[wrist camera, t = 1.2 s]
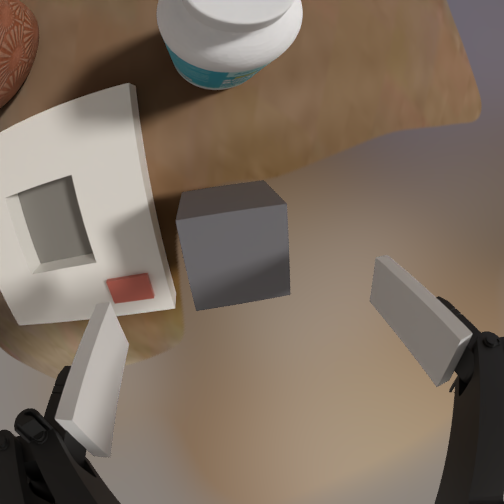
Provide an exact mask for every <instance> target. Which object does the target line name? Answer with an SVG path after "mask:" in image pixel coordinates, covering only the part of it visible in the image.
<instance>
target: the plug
mask: <svg viewBox="0 0 504 504" xmlns="http://www.w3.org/2000/svg"><path fill="white" fill-rule="evenodd" d="M176 225H177V230H178V235H179V239H180V244H181V249H182V253H183V258H184V262H185V267H186V271H187V275H188V279H189V284H190V288H191V292H192V295H193V299H194V304H195V307H196V311H199V310H205V309H211V308H218V307H224V306H230V305H236V304H242V303H247V302H253V301H258V300H264V299H270V298H275V297H280V296H286V295H290V269H289V268H290V267H289V239H288V219H287V204H286V202H285V201H284V200H283V199H282V198H281V197H280V196H279V195H278V194H277V193H276V192H275V191H274V190H273V189H272V188H271V187H270V186H269V185H268V184H267V183H266V182H265V181H264V180H262V181H254V182H247V183H239V184H232V185H225V186H218V187H212V188H205V189H199V190H193V191H187V192H182V194H181V199H180V203H179V207H178V212H177V216H176Z"/></svg>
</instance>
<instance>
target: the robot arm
mask: <svg viewBox="0 0 504 504" xmlns="http://www.w3.org/2000/svg"><path fill="white" fill-rule="evenodd" d="M370 302H371V303H372V305H373V306H374V307H375V308H376V310H377V311H378V312H379V313H380V314H381V315H382V317H383V318H384V319H385V321H386V322H387V323H388V324H389V325H390V327H391V328H392V329H393V330H394V332H395V333H396V334H397V335H398V337H399V338H400V339H401V340H402V342H403V343H404V344H405V346H406V347H407V348H408V349H409V351H410V352H411V353H412V355H413V356H414V357H415V359H416V360H417V361H418V362H419V364H420V365H421V366H422V368H423V369H424V370H425V372H426V373H427V374H428V376H429V377H430V378H431V380H432V381H433V382H434V384H435V385H436V387H438V386H440V385H441V384H443V383H445V382H447V381H449V380H450V378H451V376H452V374H453V372H454V371H455V372H456V373H457V375H458V376H457V378H456V379H455V381H454V383H453V384H452V386H451V388H450V391H449V392H452V390H453V389H454V387H455V392H454V393H455V397H454V408H453V417H452V426H451V432H450V439H449V445H448V451H447V456H446V461H445V466H444V470H443V475H442V479H441V483H440V487H439V491H438V494H437V497H436V501H435V504H504V501H503V494H504V337H500V338H499V337H498V336H497V335H495V334H494V333H491V332H482V333H481V332H480V331H478V329H477V328H476V327H475V326H474V325H473V324H472V323H471V322H469V321H468V320H467V319H466V318H465V317H464V316H463V315H462V314H460V312H459V311H458V310H457V309H455V307H454V306H453V305H452V304H451V303H449V302H448V301H447V300H445V299H443V298H441V297H435V296H434V295H433V294H432V293H431V292H429V291H428V290H427V289H426V288H425V287H424V286H423V285H422V284H421V283H420V282H418V281H417V280H416V279H415V278H414V277H413V276H412V275H410V274H409V273H408V272H407V271H406V270H405V269H404V268H402V267H401V266H400V265H399V264H398V263H397V262H395V261H394V260H393V259H392V258H391V257H390V256H388V255H385V256H380V257H376V259H375V267H374V275H373V282H372V289H371V296H370ZM128 347H129V343H128V341H127V339H126V337H125V335H124V333H123V331H122V328H121V326H120V324H119V322H118V319H117V317H116V315H115V312H114V310H113V307H112V305H111V303H110V302H107V303H99V304H96V306H95V309H94V311H93V313H92V316H91V318H90V320H89V323H88V325H87V327H86V330H85V332H84V335H83V337H82V340H81V342H80V345H79V347H78V350H77V352H76V355H75V358H74V360H73V363H72V366H65V367H64V368H63V369H62V371H61V372H60V373H59V374H58V377H57V379H56V382H55V386H54V388H53V391H52V394H51V397H50V400H49V403H48V406H47V409H46V412H45V416H44V417H43V416H42V415H41V414H40V413H39V412H38V411H37V410H35V409H26V410H23V411H22V412H21V413H20V414H19V415H18V416H17V418H16V420H15V424H14V427H15V431H16V432H17V433H18V434H19V435H20V436H17V437H15V436H14V435H13V434H12V433H11V432H10V431H8V430H1V431H0V504H120V502H119V501H118V500H117V499H116V497H115V496H114V495H113V494H112V492H111V491H110V490H109V489H108V487H107V486H106V484H105V483H104V482H103V480H102V479H101V478H100V476H99V475H98V473H97V472H96V470H95V469H94V467H93V466H92V465H91V463H90V461H89V460H88V459H87V458H86V457H85V455H86V450H87V451H88V452H90V453H91V454H92V455H93V456H98V457H110V456H111V446H112V438H113V430H114V423H115V415H116V409H117V403H118V397H119V392H120V386H121V380H122V375H123V370H124V365H125V361H126V356H127V351H128Z"/></svg>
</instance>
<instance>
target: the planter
mask: <svg viewBox="0 0 504 504" xmlns="http://www.w3.org/2000/svg"><path fill="white" fill-rule="evenodd" d="M38 42H39V28H38V23H37V20H36V18H35V16H34V15H33V13H32V12H31V10H30V9H29V8H28V7H26V6H25V5H24V4H23V3H22V2H20V1H19V0H0V108H1V107H2V106H4V105H5V104H6V103H7V102H8V101H9V100H10V99H11V98H12V97H13V96H14V95H15V94H16V92H17V91H18V90H19V88H20V87H21V85H22V84H23V82H24V81H25V79H26V77H27V75H28V74H29V71H30V69H31V67H32V65H33V62H34V59H35V56H36V53H37V48H38Z"/></svg>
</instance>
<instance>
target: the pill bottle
mask: <svg viewBox="0 0 504 504" xmlns="http://www.w3.org/2000/svg"><path fill="white" fill-rule="evenodd" d="M157 23H158V27H159V30H160V33H161V36H162V38H163V40H164V42H165V45H166V47H167V49H168V52H169V54H170V57H171V59H172V62H173V64H174V66H175V68H176V70H177V71H178V72H179V74H180V75H181V76H182V77H183V78H184V79H185V80H187V81H188V82H189V83H191V84H193V85H195V86H198V87H200V88H204V89H210V90H223V89H228V88H232V87H235V86H238V85H240V84H242V83H244V82H245V81H247V80H248V79H249V78H251V77H252V76H253V75H255V74H256V73H257V72H258V71H260V70H261V69H262V68H264V67H265V66H266V65H268V64H269V63H270V62H272V61H273V60H275V59H276V58H277V57H279V56H280V55H281V54H282V53H283V52H285V51H286V50H287V49H288V47H289V46H290V45H291V44H292V43H293V41H294V40H295V38H296V36H297V34H298V32H299V30H300V27H301V23H302V4H301V0H159V2H158V6H157Z"/></svg>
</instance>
